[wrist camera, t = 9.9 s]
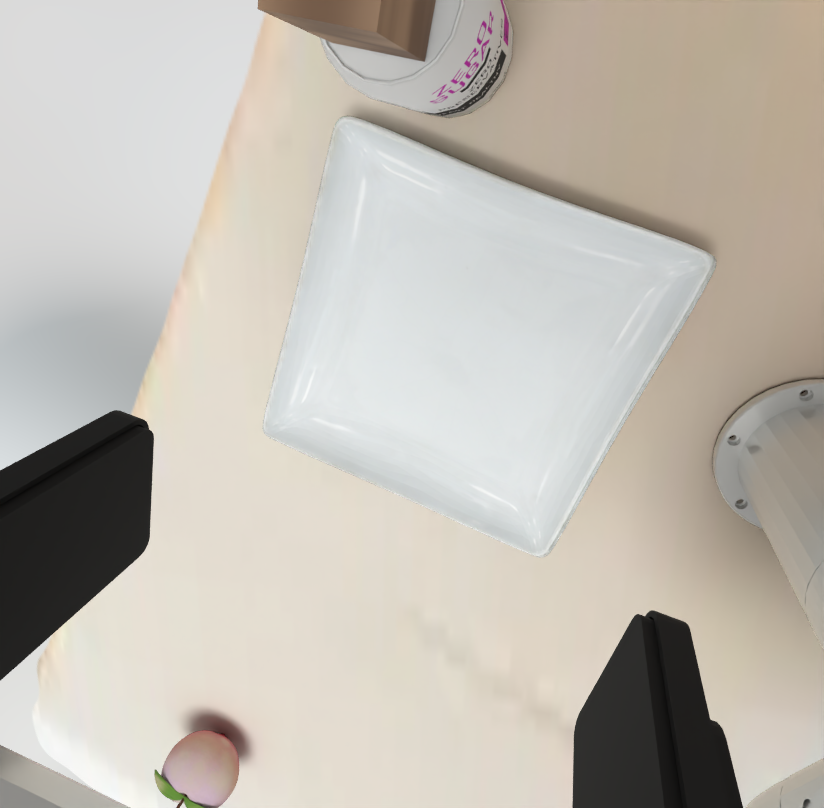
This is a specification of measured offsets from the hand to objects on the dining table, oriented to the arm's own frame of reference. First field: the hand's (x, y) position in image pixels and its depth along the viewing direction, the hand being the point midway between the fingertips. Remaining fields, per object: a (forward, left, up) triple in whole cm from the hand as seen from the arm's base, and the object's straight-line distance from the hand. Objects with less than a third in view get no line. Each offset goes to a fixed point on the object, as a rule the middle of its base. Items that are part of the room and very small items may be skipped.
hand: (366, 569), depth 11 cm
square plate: (+3, +8, -37) cm, 38 cm away
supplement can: (+9, -12, -36) cm, 39 cm away
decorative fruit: (+19, +68, -36) cm, 80 cm away
